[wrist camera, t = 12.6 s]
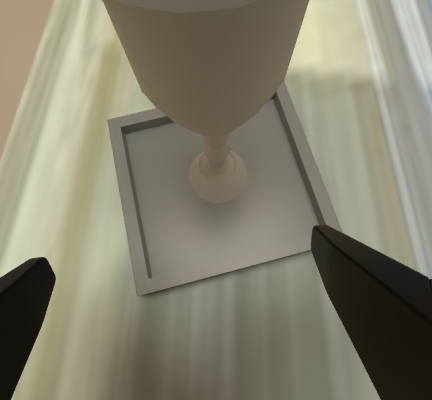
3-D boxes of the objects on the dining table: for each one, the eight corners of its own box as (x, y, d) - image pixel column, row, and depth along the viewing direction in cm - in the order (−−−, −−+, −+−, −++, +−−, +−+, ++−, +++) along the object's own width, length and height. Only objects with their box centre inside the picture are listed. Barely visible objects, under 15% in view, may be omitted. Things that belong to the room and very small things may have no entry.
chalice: (199, 230, 22) (121, 69, 5) (162, 163, 24) (6, -131, 7) (275, 187, 23) (431, -77, 6) (234, 125, 25) (261, -223, 8)
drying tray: (335, 243, 23) (345, 240, 21) (144, 294, 22) (137, 296, 20) (278, 92, 27) (283, 78, 25) (115, 131, 26) (107, 119, 24)
